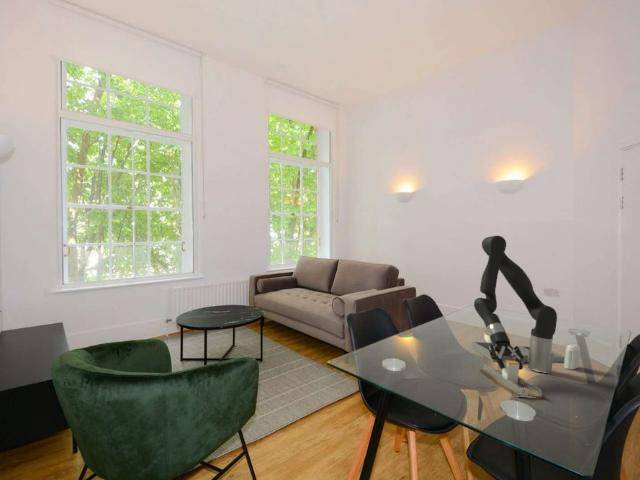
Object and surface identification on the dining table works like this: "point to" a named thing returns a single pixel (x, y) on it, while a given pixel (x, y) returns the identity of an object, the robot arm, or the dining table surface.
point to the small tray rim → (556, 356)
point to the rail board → (508, 384)
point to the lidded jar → (487, 337)
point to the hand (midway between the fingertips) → (512, 368)
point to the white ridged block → (572, 357)
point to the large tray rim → (483, 349)
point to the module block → (511, 370)
